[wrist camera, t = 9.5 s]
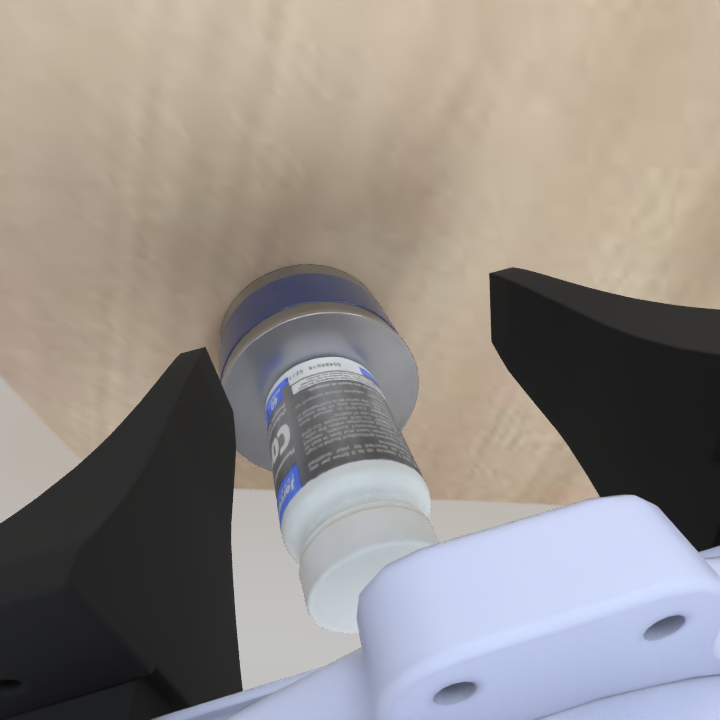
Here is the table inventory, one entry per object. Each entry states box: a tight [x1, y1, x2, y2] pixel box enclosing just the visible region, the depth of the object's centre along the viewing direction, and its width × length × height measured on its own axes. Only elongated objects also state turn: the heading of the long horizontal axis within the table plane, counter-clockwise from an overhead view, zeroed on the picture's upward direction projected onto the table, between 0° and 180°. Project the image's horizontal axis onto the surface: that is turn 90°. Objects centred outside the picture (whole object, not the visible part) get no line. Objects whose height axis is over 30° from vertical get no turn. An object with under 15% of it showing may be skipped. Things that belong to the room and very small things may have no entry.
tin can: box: [219, 265, 419, 471], centre depth 22 cm, size 8×8×5 cm
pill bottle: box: [265, 357, 440, 633], centre depth 16 cm, size 5×5×8 cm
